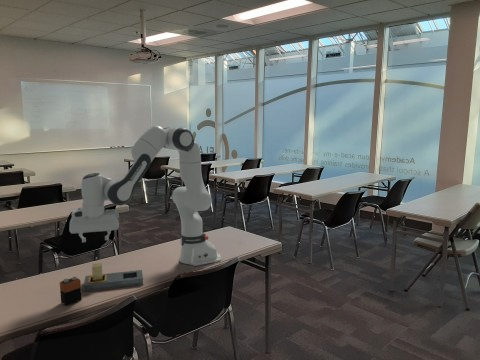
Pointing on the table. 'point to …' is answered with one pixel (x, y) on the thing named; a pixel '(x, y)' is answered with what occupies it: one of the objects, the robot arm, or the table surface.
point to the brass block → (97, 272)
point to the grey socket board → (114, 280)
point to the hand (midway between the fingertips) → (95, 241)
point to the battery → (70, 290)
